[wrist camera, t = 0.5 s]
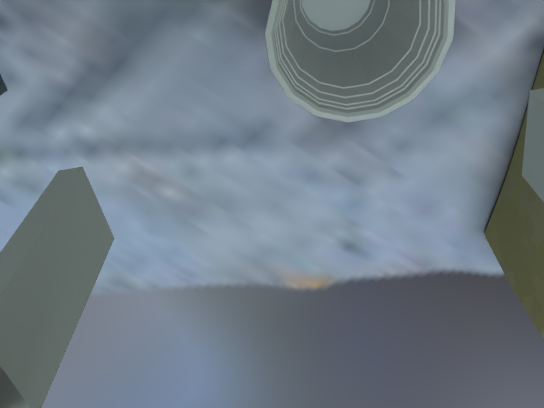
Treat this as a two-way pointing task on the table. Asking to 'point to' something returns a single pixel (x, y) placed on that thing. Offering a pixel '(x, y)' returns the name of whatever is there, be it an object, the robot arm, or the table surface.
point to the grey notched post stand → (2, 86)
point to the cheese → (521, 231)
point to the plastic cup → (357, 52)
